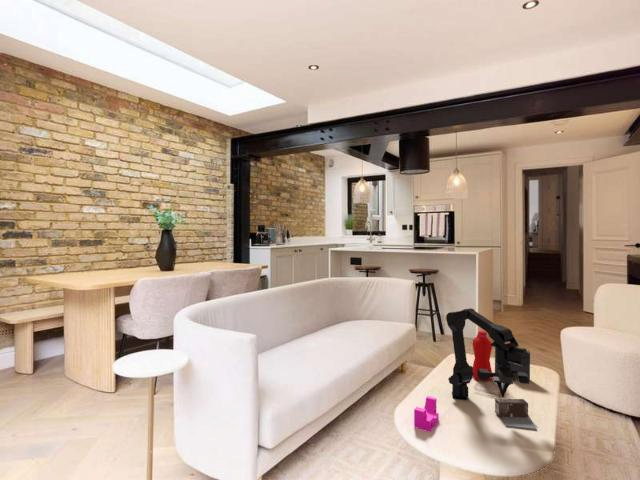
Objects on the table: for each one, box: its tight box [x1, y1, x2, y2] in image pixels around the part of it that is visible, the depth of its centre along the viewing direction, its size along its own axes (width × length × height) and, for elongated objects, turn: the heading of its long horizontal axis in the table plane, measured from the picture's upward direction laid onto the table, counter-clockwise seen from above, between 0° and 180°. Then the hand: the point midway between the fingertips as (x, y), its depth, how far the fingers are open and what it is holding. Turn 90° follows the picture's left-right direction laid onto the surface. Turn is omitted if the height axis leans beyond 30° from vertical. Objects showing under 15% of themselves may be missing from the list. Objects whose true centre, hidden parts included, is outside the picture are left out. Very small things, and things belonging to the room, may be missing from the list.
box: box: [494, 398, 529, 418], centre depth 156 cm, size 6×4×12 cm
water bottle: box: [468, 330, 493, 382], centre depth 198 cm, size 9×11×25 cm
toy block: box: [413, 395, 440, 433], centre depth 152 cm, size 15×6×8 cm, turn 144°
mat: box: [501, 414, 538, 431], centre depth 154 cm, size 11×15×1 cm
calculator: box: [510, 350, 531, 382], centre depth 197 cm, size 11×4×15 cm, turn 63°
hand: (502, 396), depth 154 cm, fingers closed
